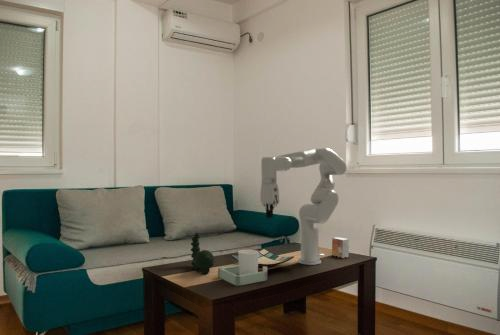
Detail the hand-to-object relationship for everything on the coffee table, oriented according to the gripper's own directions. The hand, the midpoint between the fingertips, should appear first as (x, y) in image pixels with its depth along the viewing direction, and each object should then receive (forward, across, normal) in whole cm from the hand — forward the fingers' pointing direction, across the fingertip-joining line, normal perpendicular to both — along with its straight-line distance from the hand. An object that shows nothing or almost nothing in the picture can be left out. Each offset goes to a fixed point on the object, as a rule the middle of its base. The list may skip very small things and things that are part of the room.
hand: (269, 217), depth 196 cm
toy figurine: (+26, +19, +29) cm, 43 cm away
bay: (+26, -5, +20) cm, 33 cm away
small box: (+28, -2, -52) cm, 59 cm away
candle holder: (+26, -4, +17) cm, 32 cm away
